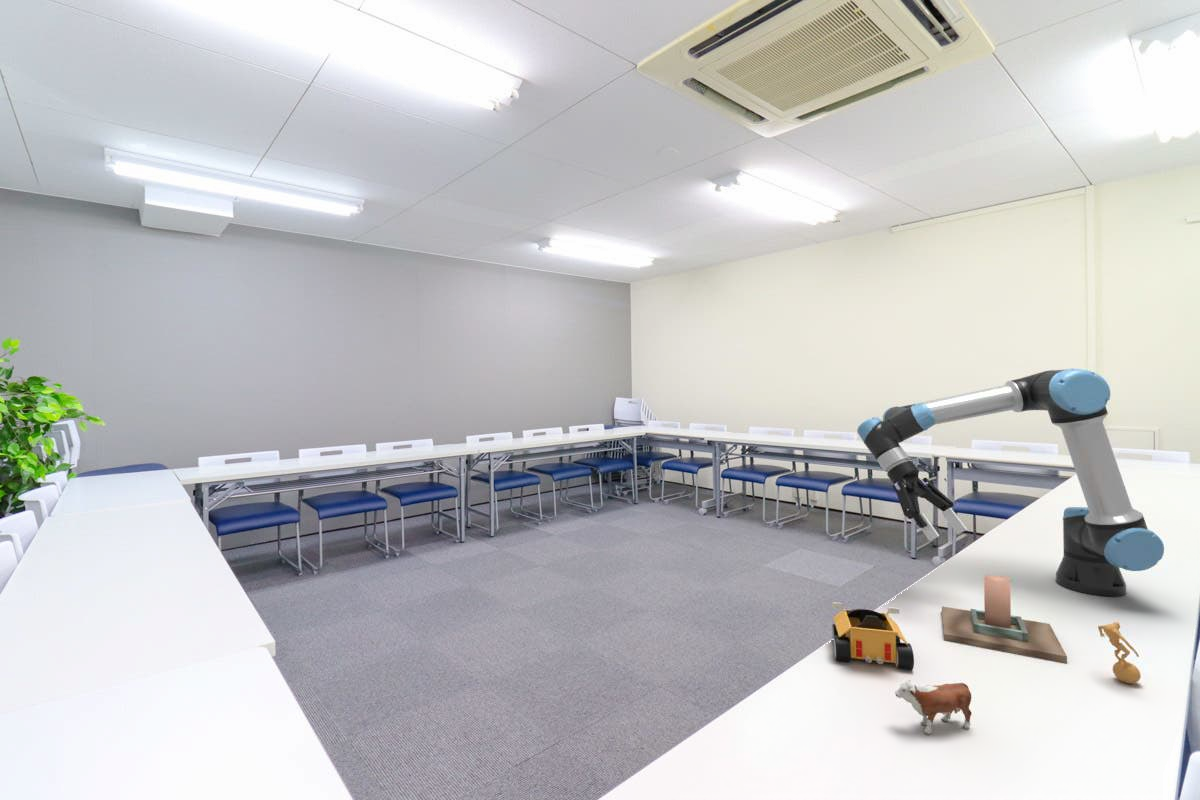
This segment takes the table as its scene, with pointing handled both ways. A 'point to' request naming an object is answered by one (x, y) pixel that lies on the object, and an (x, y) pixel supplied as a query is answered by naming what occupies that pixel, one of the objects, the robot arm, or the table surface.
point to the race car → (870, 637)
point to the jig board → (1002, 634)
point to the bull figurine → (937, 701)
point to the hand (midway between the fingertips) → (948, 535)
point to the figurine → (1121, 668)
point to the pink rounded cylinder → (997, 601)
